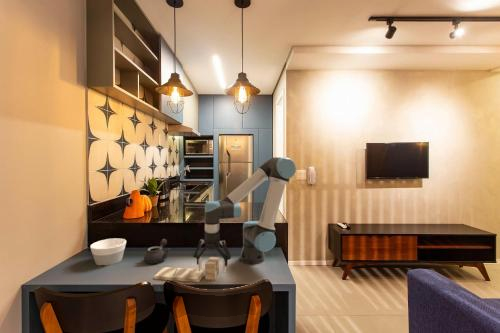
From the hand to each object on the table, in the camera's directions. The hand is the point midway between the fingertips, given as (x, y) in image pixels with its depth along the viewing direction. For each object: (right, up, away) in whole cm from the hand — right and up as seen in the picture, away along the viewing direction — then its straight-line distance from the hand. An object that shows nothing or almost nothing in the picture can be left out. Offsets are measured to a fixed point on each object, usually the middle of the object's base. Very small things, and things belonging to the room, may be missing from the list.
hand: (212, 271), depth 135 cm
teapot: (-36, -2, +24) cm, 43 cm away
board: (-17, -3, +1) cm, 17 cm away
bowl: (-66, -2, +20) cm, 69 cm away
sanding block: (0, -3, 0) cm, 3 cm away
